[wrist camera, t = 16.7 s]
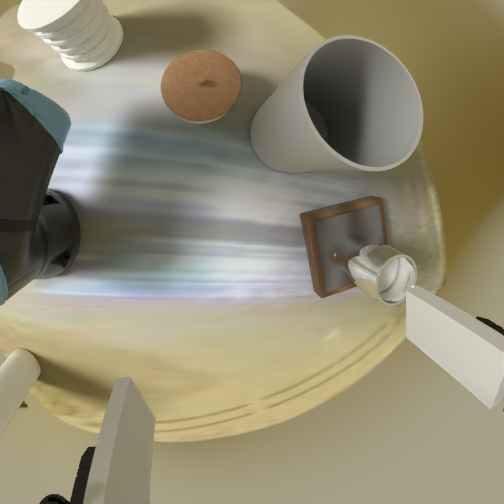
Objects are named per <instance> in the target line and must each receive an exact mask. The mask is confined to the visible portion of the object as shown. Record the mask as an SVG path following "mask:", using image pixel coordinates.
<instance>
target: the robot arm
mask: <svg viewBox="0 0 504 504" xmlns="http://www.w3.org/2000/svg"><path fill="white" fill-rule="evenodd" d="M70 125H71V122H70V117H69V114H68V113H67V112H66V111H65V110H64V109H63V108H62V107H61V106H60V105H58V104H57V103H55V102H54V101H52V100H51V99H49V98H48V97H46V96H44V95H43V94H41V93H39V92H37V91H36V90H34V89H29V87H27V86H25V85H23V84H22V83H20V82H17V81H15V80H12V79H7V78H4V79H2V80H1V81H0V306H1V305H3V304H4V303H5V301H6V300H7V299H9V298H10V297H11V296H13V295H14V294H15V293H16V292H18V291H19V290H20V289H22V288H23V287H24V286H26V285H27V284H28V283H30V282H31V281H32V280H34V279H49V278H53V277H55V276H57V275H59V274H61V273H62V272H63V271H65V270H66V269H67V268H68V267H69V266H70V265H71V264H72V262H73V261H74V259H75V257H76V255H77V252H78V249H79V244H80V228H79V223H78V219H77V216H76V214H75V211H74V209H73V208H72V206H71V205H70V203H69V202H68V201H67V200H66V199H65V198H64V197H63V196H62V195H61V194H59V193H57V192H55V191H53V190H49V189H47V188H48V185H49V182H50V179H51V177H52V174H53V171H54V168H55V165H56V163H57V160H58V158H59V155H60V154H62V152H63V145H64V142H65V140H66V137H67V134H68V132H69V129H70ZM406 338H408V339H409V340H410V341H411V342H412V343H414V344H415V345H416V346H417V347H419V348H420V349H421V350H422V351H423V352H424V353H426V354H427V355H428V356H429V357H430V358H432V359H433V360H434V361H435V362H436V363H438V364H439V365H440V366H441V367H442V368H444V369H445V370H446V371H447V372H448V373H449V374H451V375H452V376H453V377H454V378H455V379H456V380H458V381H459V382H460V383H461V384H462V385H464V386H465V387H466V388H467V389H468V390H469V391H470V392H471V393H473V394H474V395H475V396H476V397H477V398H478V399H480V400H481V401H482V402H483V403H484V404H485V405H486V406H487V407H489V408H490V409H492V408H493V407H494V406H495V405H496V404H497V403H498V402H500V401H501V400H502V398H503V395H504V329H503V328H502V327H500V326H498V325H496V324H495V323H494V322H492V321H490V320H489V319H485V318H481V317H476V318H474V317H472V316H470V315H469V314H467V313H465V312H464V311H462V310H460V309H459V308H457V307H455V306H453V305H452V304H450V303H448V302H446V301H445V300H443V299H441V298H440V297H438V296H436V295H434V294H432V293H431V292H429V291H427V290H425V289H424V288H422V287H420V286H418V285H417V286H415V287H412V288H410V289H408V290H406ZM503 411H504V410H503ZM154 429H155V417H154V415H153V414H152V412H151V411H150V409H149V408H148V406H147V404H146V403H145V401H144V399H143V398H142V396H141V395H140V393H139V391H138V389H137V388H136V386H135V384H134V383H133V381H132V379H131V377H127V378H122V379H117V380H115V383H114V386H113V389H112V393H111V396H110V399H109V402H108V406H107V409H106V412H105V416H104V419H103V423H102V426H101V430H100V433H99V437H98V441H97V445H96V447H88V448H87V450H86V451H85V452H84V454H83V455H82V457H81V461H80V464H79V469H78V472H77V477H76V479H75V483H74V488H73V492H72V496H71V500H70V502H69V501H67V500H66V499H65V498H64V497H63V496H60V495H58V494H51V495H48V496H46V497H45V498H44V499H43V500H42V501H41V502H40V504H149V501H150V500H149V499H150V479H151V464H152V451H153V450H152V449H153V439H154Z"/></svg>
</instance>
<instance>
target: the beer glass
mask: <svg viewBox="0 0 504 504" xmlns="http://www.w3.org/2000/svg"><path fill="white" fill-rule="evenodd" d="M328 258H329V261H330V263H331V264H332V265H333V266H334V267H335V268H337V269H339V270H343V271H345V272H346V273H347V274H348V275H349V277H350V278H351V279H352V281H353V282H354V283H355V284H356V285H357V286H358V287H359V288H360V289H361V290H362V291H363V292H365V293H366V294H368V295H369V296H371V297H372V298H374V299H376V300H378V301H380V302H381V303H382V304H384V305H387V306H395V305H398V304H400V303H402V302H403V301H404V300H406V290H408V289H410V288H412V287H415V284H416V280H417V267H416V264H415V262H414V261H413V259H412V258H411V257H409V256H408V255H405V254H404V253H402V252H400V251H398V250H397V249H395V248H393V247H390V246H388V245H385V244H382V243H376V242H367V241H361V240H359V239H358V238H357V237H356V236H355V235H353V234H350V233H343V234H340V235H338V236H336V237H335V238H334V239H333V240H332V242H331V243H330V245H329V249H328Z"/></svg>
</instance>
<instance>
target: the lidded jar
mask: <svg viewBox="0 0 504 504" xmlns="http://www.w3.org/2000/svg"><path fill="white" fill-rule="evenodd" d="M241 84H242V82H241V76H240V72H239V70H238V68H237V66H236V65H235V64H234V62H233V61H232V60H231V59H229V58H228V57H227V56H225V55H223V54H221V53H219V52H216V51H212V50H194V51H190V52H187V53H185V54H183V55H181V56H179V57H178V58H176V59H175V60H174V61H173V62H172V63H171V64H170V65H169V66H168V67H167V69H166V70H165V72H164V74H163V77H162V81H161V93H162V97H163V99H164V102H165V103H166V105H167V106H168V108H169V109H170V110H171V111H172V112H173V113H174V114H175V115H176V116H177V117H179V118H180V119H182V120H184V121H187V122H190V123H195V124H203V123H209V122H213V121H215V120H217V119H219V118H221V117H222V116H224V115H225V114H226V113H227V112H228V111H229V110H230V109H231V108H232V107H233V105H234V104H235V103H236V101H237V99H238V97H239V95H240V91H241Z"/></svg>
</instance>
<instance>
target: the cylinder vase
mask: <svg viewBox="0 0 504 504" xmlns="http://www.w3.org/2000/svg"><path fill="white" fill-rule="evenodd" d="M422 128H423V108H422V102H421V98H420V94H419V91H418V89H417V86H416V84H415V82H414V80H413V78H412V76H411V75H410V73H409V71H408V70H407V69H406V67H405V66H404V65H403V64H402V62H401V61H400V60H399V59H398V58H397V57H396V56H395V55H394V54H392V53H391V52H390V51H389V50H387V49H386V48H385V47H383V46H381V45H380V44H378V43H376V42H374V41H371V40H369V39H366V38H363V37H358V36H350V35H344V36H336V37H332V38H329V39H327V40H324V41H323V42H321V43H319V44H318V45H317V46H315V47H314V48H313V49H312V50H311V51H310V52H309V53H308V55H307V56H306V57H305V58H304V59H303V60H302V61H301V62H300V63H299V64H298V65H297V66H296V67H295V68H294V70H293V71H292V72H291V73H290V74H289V75H288V76H287V77H286V78H285V79H284V81H283V82H282V83H281V84H280V85H279V86H278V87H277V89H276V90H275V91H274V92H273V93H272V94H271V95H270V97H269V98H268V99H267V100H266V101H265V102H264V104H263V105H262V106H261V107H260V108H259V109H258V111H257V112H256V113H255V115H254V117H253V119H252V122H251V126H250V139H251V143H252V146H253V149H254V151H255V153H256V154H257V156H258V157H259V158H260V159H261V160H262V161H263V162H264V163H265V164H266V165H267V166H269V167H270V168H272V169H274V170H277V171H280V172H285V173H303V172H335V171H384V170H389V169H392V168H394V167H396V166H398V165H400V164H402V163H403V162H404V161H405V160H407V159H408V158H409V157H410V155H411V154H412V153H413V152H414V150H415V148H416V147H417V145H418V142H419V140H420V137H421V133H422Z"/></svg>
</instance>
